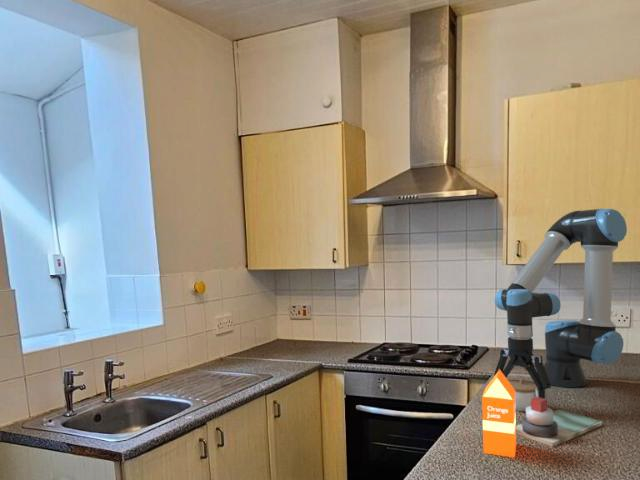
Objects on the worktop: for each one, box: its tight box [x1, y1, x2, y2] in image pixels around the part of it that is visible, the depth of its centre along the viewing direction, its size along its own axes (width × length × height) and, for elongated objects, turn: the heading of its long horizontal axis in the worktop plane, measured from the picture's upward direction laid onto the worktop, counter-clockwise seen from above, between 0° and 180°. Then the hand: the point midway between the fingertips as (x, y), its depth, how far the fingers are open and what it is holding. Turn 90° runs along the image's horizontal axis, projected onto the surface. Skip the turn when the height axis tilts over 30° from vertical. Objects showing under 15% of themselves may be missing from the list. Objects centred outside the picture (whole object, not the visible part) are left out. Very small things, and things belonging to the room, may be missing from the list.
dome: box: [525, 397, 554, 425], centre depth 137 cm, size 7×7×6 cm
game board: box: [516, 409, 603, 448], centre depth 141 cm, size 25×13×4 cm, turn 123°
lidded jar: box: [509, 378, 538, 412], centre depth 158 cm, size 11×11×9 cm
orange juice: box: [481, 369, 517, 458], centre depth 129 cm, size 8×9×20 cm
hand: (522, 404), depth 158 cm, fingers open, 12 cm apart
